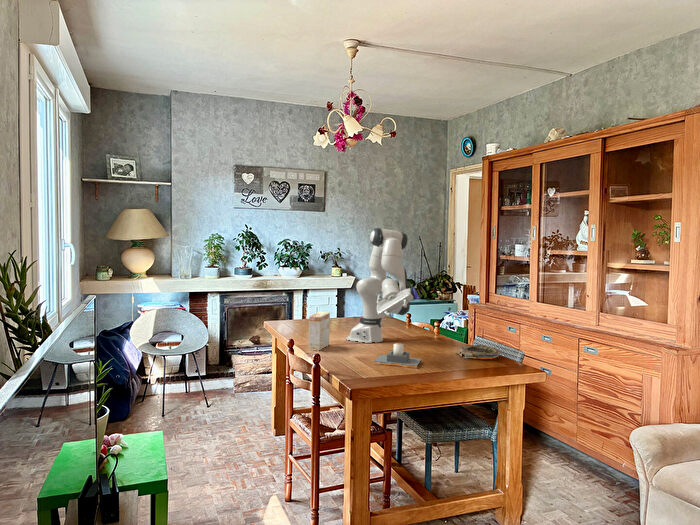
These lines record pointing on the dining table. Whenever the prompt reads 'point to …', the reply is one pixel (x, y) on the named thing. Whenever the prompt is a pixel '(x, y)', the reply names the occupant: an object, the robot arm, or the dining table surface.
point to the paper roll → (398, 349)
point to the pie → (480, 351)
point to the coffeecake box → (319, 330)
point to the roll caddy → (398, 359)
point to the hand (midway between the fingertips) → (397, 311)
